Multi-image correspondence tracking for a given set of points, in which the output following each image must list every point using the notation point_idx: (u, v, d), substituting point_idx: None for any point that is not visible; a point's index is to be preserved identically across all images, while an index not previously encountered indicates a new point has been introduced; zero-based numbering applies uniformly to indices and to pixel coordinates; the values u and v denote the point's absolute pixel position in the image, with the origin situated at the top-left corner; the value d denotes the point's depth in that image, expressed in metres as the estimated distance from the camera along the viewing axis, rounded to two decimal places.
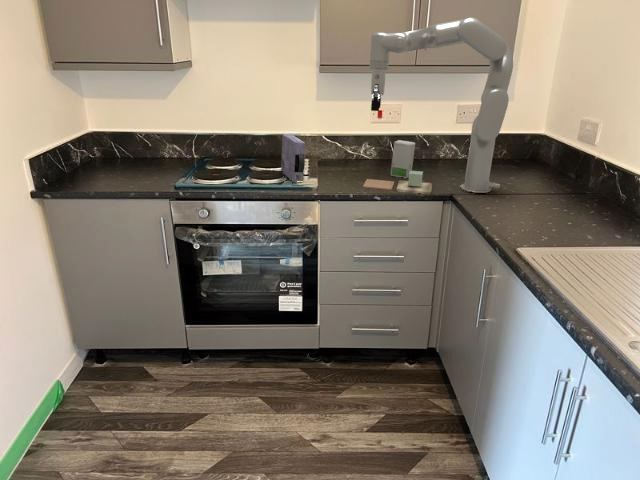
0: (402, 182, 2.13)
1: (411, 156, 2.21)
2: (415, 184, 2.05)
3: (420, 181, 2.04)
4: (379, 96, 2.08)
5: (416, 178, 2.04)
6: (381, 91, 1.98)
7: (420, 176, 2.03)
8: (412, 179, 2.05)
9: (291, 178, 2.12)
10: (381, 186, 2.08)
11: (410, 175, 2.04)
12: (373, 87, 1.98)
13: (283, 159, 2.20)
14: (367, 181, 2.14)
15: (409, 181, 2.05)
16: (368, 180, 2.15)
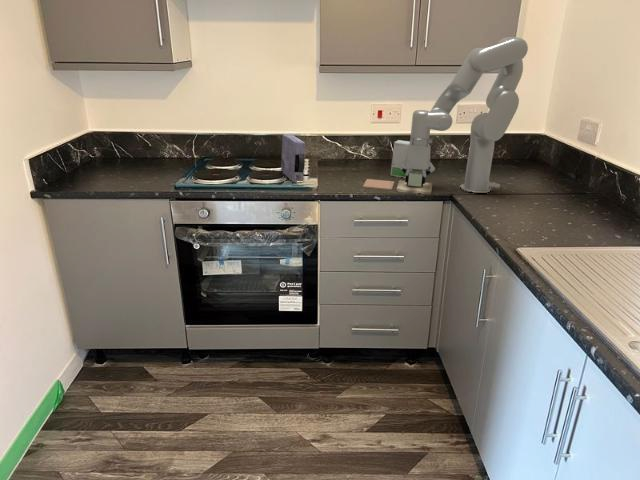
0: (402, 182, 2.13)
1: None
2: (415, 184, 2.05)
3: (420, 181, 2.04)
4: None
5: (416, 178, 2.04)
6: None
7: (420, 176, 2.03)
8: (412, 179, 2.05)
9: (291, 178, 2.12)
10: (381, 186, 2.08)
11: (410, 175, 2.04)
12: (428, 165, 2.02)
13: (283, 159, 2.20)
14: (367, 181, 2.14)
15: (409, 181, 2.05)
16: (368, 180, 2.15)
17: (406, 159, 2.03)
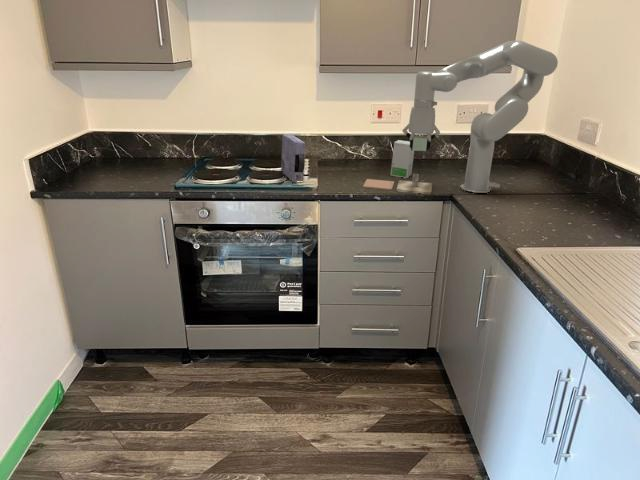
0: (402, 182, 2.13)
1: (411, 156, 2.21)
2: (420, 149, 2.00)
3: (425, 145, 1.99)
4: None
5: (421, 142, 1.99)
6: None
7: (425, 140, 1.98)
8: (417, 144, 1.99)
9: (291, 178, 2.12)
10: (381, 186, 2.08)
11: (414, 139, 1.99)
12: (433, 129, 1.97)
13: (283, 159, 2.20)
14: (367, 181, 2.14)
15: (414, 146, 2.00)
16: (368, 180, 2.15)
17: (410, 123, 1.97)
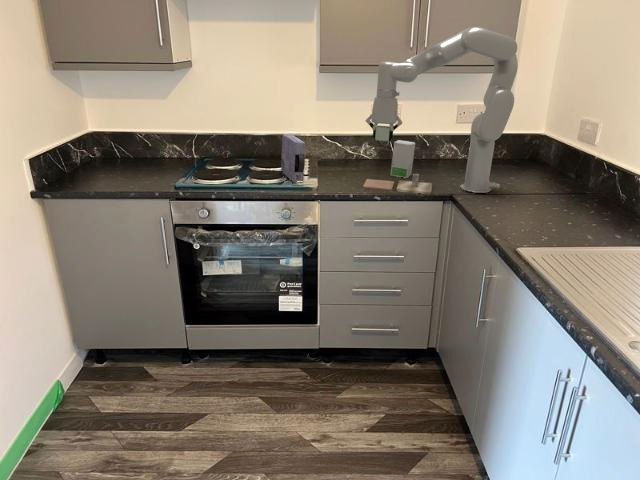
0: (402, 182, 2.13)
1: (411, 156, 2.21)
2: (382, 138, 2.01)
3: (387, 135, 2.00)
4: (376, 126, 2.04)
5: (383, 132, 2.00)
6: None
7: (387, 130, 2.00)
8: (379, 133, 2.01)
9: (291, 178, 2.12)
10: (381, 186, 2.08)
11: (377, 129, 2.00)
12: (396, 119, 1.99)
13: (283, 159, 2.20)
14: (367, 181, 2.14)
15: (376, 135, 2.01)
16: (368, 180, 2.15)
17: (373, 112, 1.99)
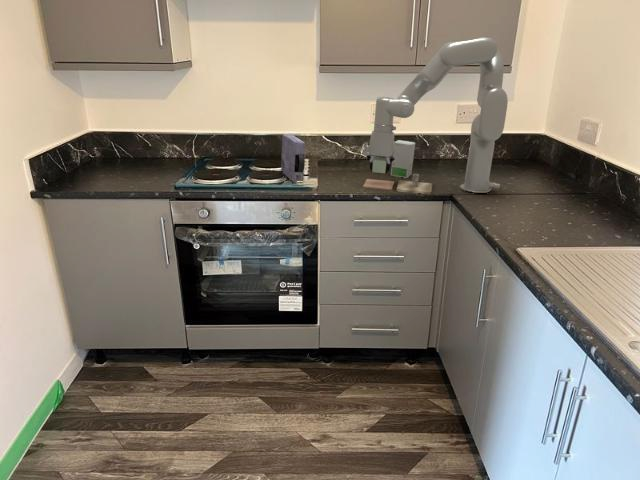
0: (402, 182, 2.13)
1: (411, 156, 2.21)
2: (379, 171, 2.06)
3: (384, 168, 2.06)
4: (373, 159, 2.09)
5: (380, 165, 2.05)
6: None
7: (384, 163, 2.05)
8: (376, 166, 2.06)
9: (291, 178, 2.12)
10: (381, 186, 2.08)
11: (374, 162, 2.06)
12: (392, 152, 2.04)
13: (283, 159, 2.20)
14: (367, 181, 2.14)
15: (373, 168, 2.07)
16: (368, 180, 2.15)
17: (370, 146, 2.04)
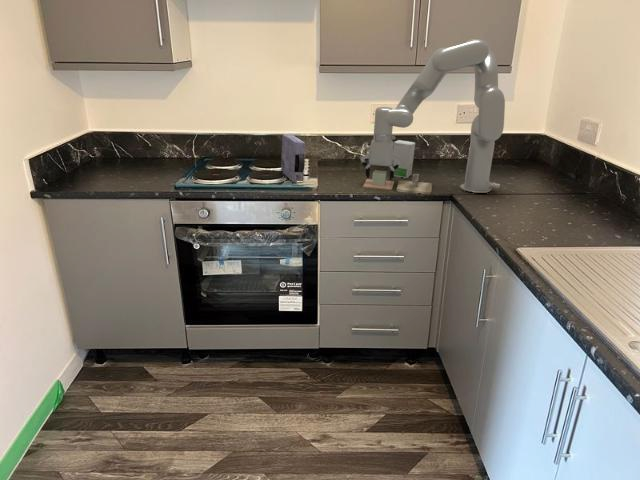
0: (402, 182, 2.13)
1: (411, 156, 2.21)
2: (379, 184, 2.09)
3: (383, 181, 2.08)
4: None
5: (380, 178, 2.08)
6: None
7: (383, 176, 2.07)
8: (376, 179, 2.08)
9: (291, 178, 2.12)
10: (381, 186, 2.08)
11: (374, 175, 2.08)
12: (392, 159, 2.05)
13: (283, 159, 2.20)
14: (367, 181, 2.14)
15: (373, 181, 2.09)
16: (368, 180, 2.15)
17: (370, 155, 2.06)
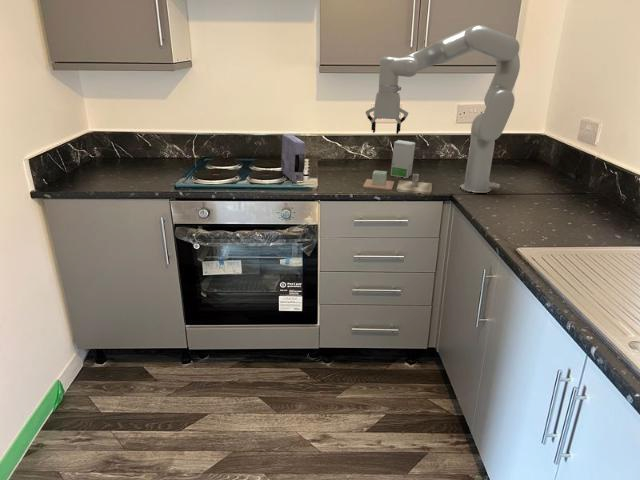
0: (402, 182, 2.13)
1: (411, 156, 2.21)
2: (379, 184, 2.09)
3: (383, 181, 2.08)
4: None
5: (380, 178, 2.08)
6: None
7: (383, 176, 2.07)
8: (376, 179, 2.08)
9: (291, 178, 2.12)
10: (381, 186, 2.08)
11: (374, 175, 2.08)
12: (399, 111, 1.99)
13: (283, 159, 2.20)
14: (367, 181, 2.14)
15: (373, 181, 2.09)
16: (368, 180, 2.15)
17: (375, 108, 2.00)
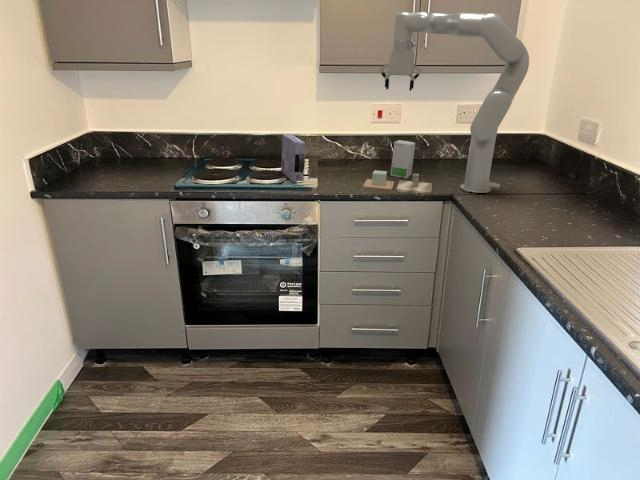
0: (402, 182, 2.13)
1: (411, 156, 2.21)
2: (379, 184, 2.09)
3: (383, 181, 2.08)
4: (388, 77, 2.07)
5: (380, 178, 2.08)
6: None
7: (383, 176, 2.07)
8: (376, 179, 2.08)
9: (291, 178, 2.12)
10: (381, 186, 2.08)
11: (374, 175, 2.08)
12: (412, 67, 2.01)
13: (283, 159, 2.20)
14: (367, 181, 2.14)
15: (373, 181, 2.09)
16: (368, 180, 2.15)
17: (389, 64, 2.02)
